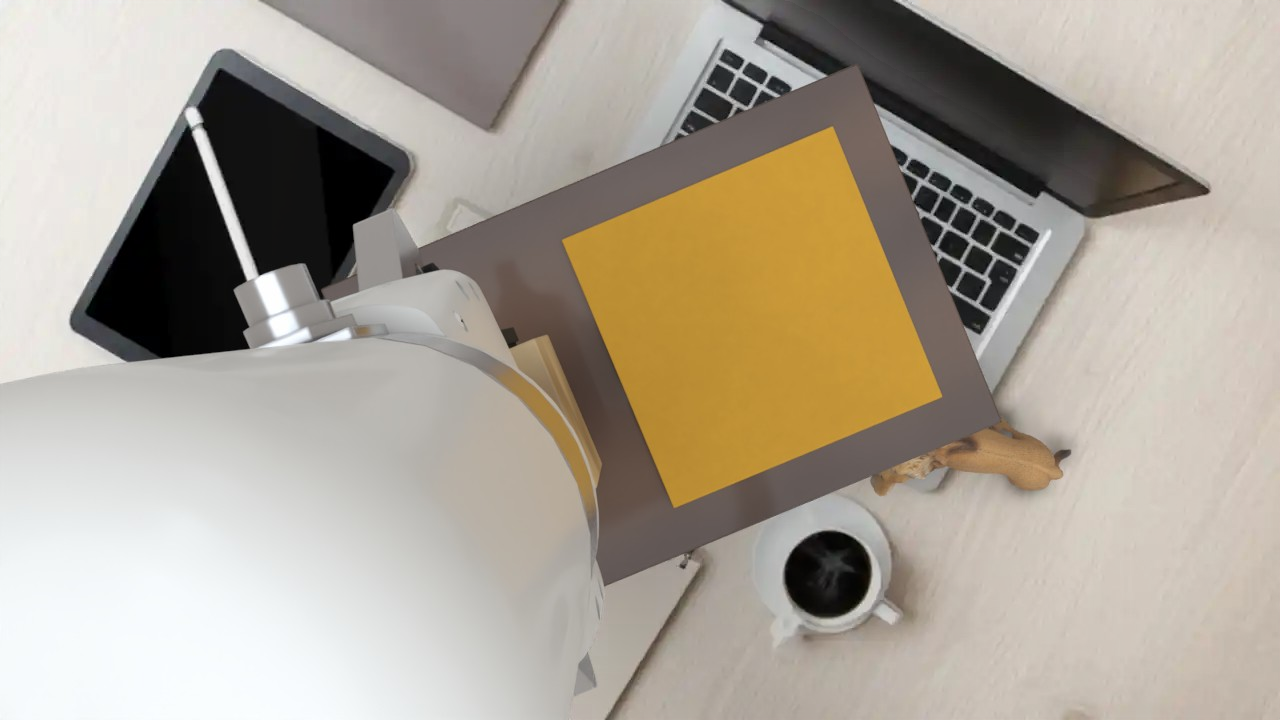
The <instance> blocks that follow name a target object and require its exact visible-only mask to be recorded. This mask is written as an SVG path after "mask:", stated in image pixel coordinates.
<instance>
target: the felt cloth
mask: <svg viewBox="0 0 1280 720" xmlns="http://www.w3.org/2000/svg"><path fill="white" fill-rule="evenodd" d="M562 243H563V245H564V247H565V250H566V252H567V255H568V257H569V259H570V262H571V264H572V266H573V269H574V271H575V274H576V276H577V278H578V281H579V283H580V286H581V288H582V290H583V293H584V295H585V297H586V300H587V302H588V305H589V307H590V309H591V312H592V314H593V317H594V319H595V321H596V324H597V326H598V328H599V331H600V333H601V336H602V338H603V340H604V343H605V345H606V348H607V350H608V352H609V355H610V357H611V359H612V362H613V364H614V367H615V369H616V371H617V374H618V376H619V379H620V381H621V383H622V386H623V388H624V391H625V393H626V395H627V398H628V400H629V402H630V405H631V407H632V410H633V412H634V414H635V417H636V419H637V422H638V424H639V426H640V429H641V431H642V433H643V436H644V438H645V441H646V443H647V445H648V448H649V450H650V453H651V455H652V457H653V460H654V462H655V464H656V467H657V469H658V472H659V474H660V476H661V479H662V481H663V484H664V486H665V488H666V491H667V493H668V495H669V498H670V500H671V503H672V505H673V507H674V508H676V507H679V506H681V505H684V504H686V503H688V502H691V501H693V500H696V499H698V498H700V497H703V496H705V495H708V494H710V493H712V492H715V491H717V490H720V489H722V488H725V487H727V486H729V485H732V484H734V483H737V482H739V481H741V480H744V479H746V478H749V477H751V476H753V475H756V474H758V473H761V472H763V471H766V470H768V469H770V468H773V467H775V466H778V465H780V464H782V463H785V462H787V461H790V460H792V459H795V458H797V457H799V456H802V455H804V454H807V453H809V452H811V451H814V450H816V449H819V448H821V447H823V446H826V445H828V444H831V443H833V442H836V441H838V440H840V439H843V438H845V437H848V436H850V435H852V434H855V433H857V432H860V431H862V430H864V429H867V428H869V427H872V426H874V425H877V424H879V423H881V422H884V421H886V420H889V419H891V418H893V417H896V416H898V415H901V414H903V413H905V412H908V411H910V410H913V409H915V408H918V407H920V406H922V405H925V404H927V403H930V402H932V401H934V400H937V399H939V398H942V394H941V391H940V389H939V386H938V384H937V381H936V379H935V377H934V374H933V372H932V369H931V367H930V364H929V362H928V359H927V357H926V354H925V352H924V349H923V347H922V344H921V342H920V340H919V337H918V335H917V332H916V330H915V327H914V325H913V322H912V320H911V317H910V315H909V312H908V310H907V308H906V305H905V303H904V300H903V298H902V295H901V293H900V290H899V288H898V285H897V283H896V280H895V278H894V275H893V273H892V271H891V268H890V266H889V263H888V261H887V258H886V256H885V253H884V251H883V248H882V246H881V243H880V241H879V238H878V236H877V234H876V231H875V229H874V226H873V224H872V221H871V219H870V216H869V214H868V211H867V209H866V206H865V204H864V202H863V199H862V197H861V194H860V192H859V189H858V187H857V184H856V182H855V179H854V177H853V174H852V172H851V169H850V167H849V165H848V162H847V160H846V157H845V155H844V152H843V150H842V147H841V145H840V142H839V140H838V137H837V135H836V132H835V130H834V128H833V126H831V127H829V128H827V129H824V130H822V131H820V132H817V133H815V134H812V135H810V136H808V137H805V138H803V139H800V140H798V141H796V142H793V143H791V144H789V145H786V146H784V147H781V148H779V149H777V150H774V151H772V152H769V153H767V154H765V155H762V156H760V157H758V158H755V159H753V160H750V161H748V162H746V163H743V164H741V165H738V166H736V167H734V168H731V169H729V170H727V171H724V172H722V173H719V174H717V175H715V176H712V177H710V178H707V179H705V180H703V181H700V182H698V183H696V184H693V185H691V186H688V187H686V188H684V189H681V190H679V191H677V192H674V193H672V194H669V195H667V196H665V197H662V198H660V199H657V200H655V201H653V202H650V203H648V204H646V205H643V206H641V207H638V208H636V209H634V210H631V211H629V212H626V213H624V214H622V215H619V216H617V217H615V218H612V219H610V220H607V221H605V222H603V223H600V224H598V225H595V226H593V227H591V228H588V229H586V230H584V231H581V232H579V233H576V234H574V235H572V236H569V237H567V238H564V239H562Z"/></svg>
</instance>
